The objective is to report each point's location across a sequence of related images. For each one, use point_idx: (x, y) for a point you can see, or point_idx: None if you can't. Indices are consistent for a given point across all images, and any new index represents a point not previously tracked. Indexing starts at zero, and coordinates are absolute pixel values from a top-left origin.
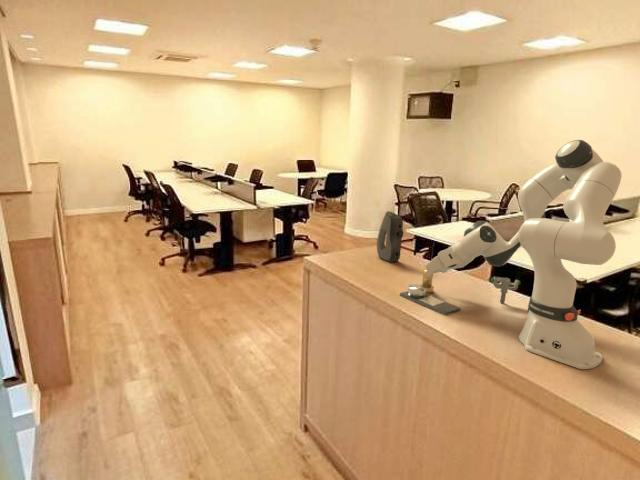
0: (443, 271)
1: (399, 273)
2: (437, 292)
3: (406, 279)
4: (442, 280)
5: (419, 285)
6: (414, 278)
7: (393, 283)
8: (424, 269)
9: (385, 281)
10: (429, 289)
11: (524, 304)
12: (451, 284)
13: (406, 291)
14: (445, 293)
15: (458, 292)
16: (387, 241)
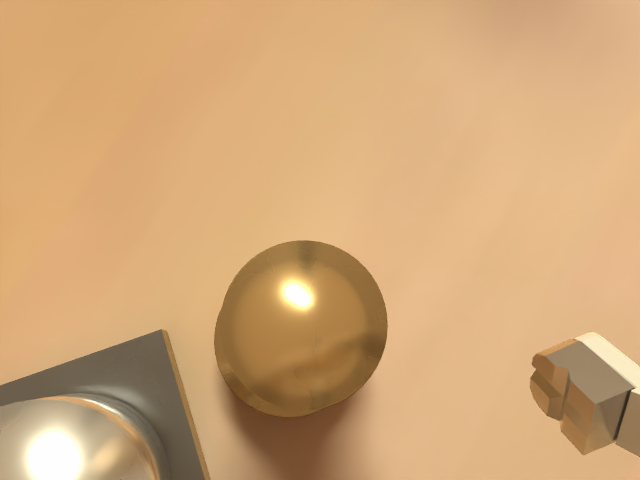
0: (553, 408)
1: None
2: (384, 394)
3: (261, 32)
4: (578, 117)
5: (108, 452)
6: (349, 26)
7: (73, 96)
8: (260, 258)
9: (25, 36)
10: (281, 416)
11: None
12: (617, 220)
13: (10, 385)
14: (452, 434)
15: None
16: None
